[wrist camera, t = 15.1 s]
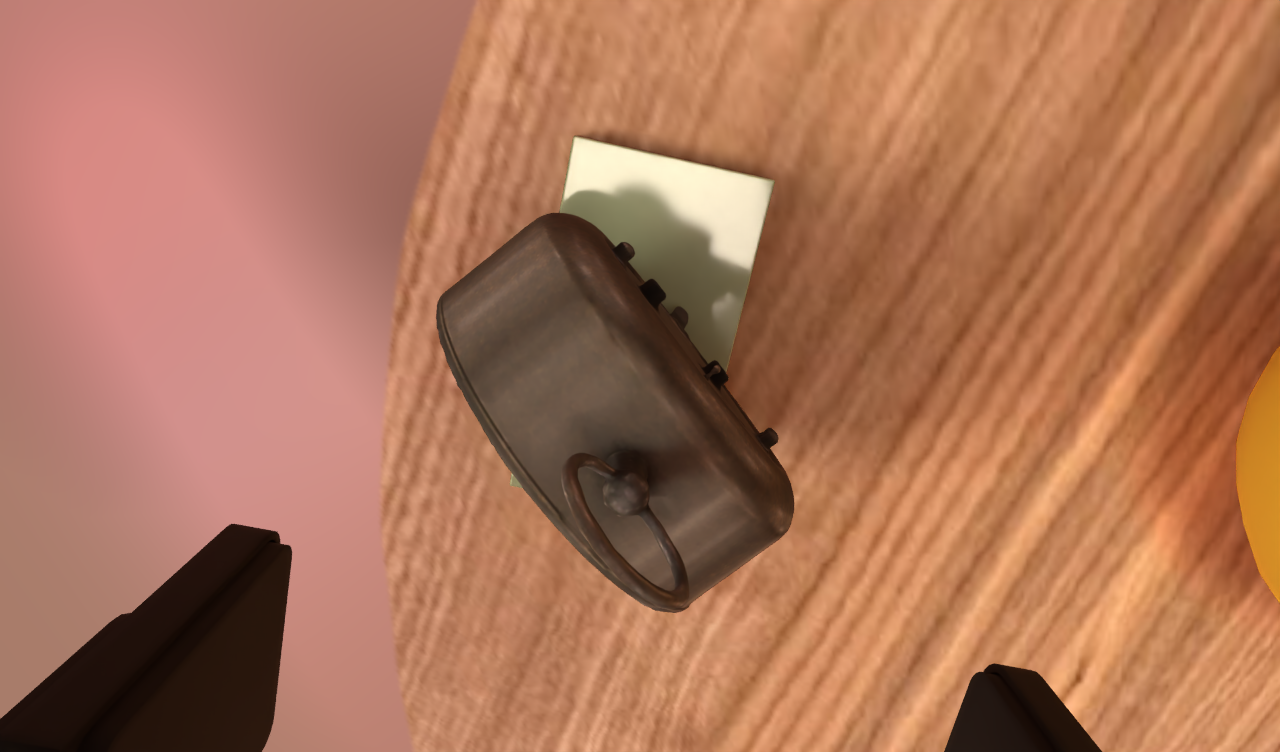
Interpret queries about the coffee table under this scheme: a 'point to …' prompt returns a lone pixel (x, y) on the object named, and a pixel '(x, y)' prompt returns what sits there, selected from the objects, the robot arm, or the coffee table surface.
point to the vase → (1262, 473)
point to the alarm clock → (612, 413)
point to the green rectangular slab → (675, 230)
